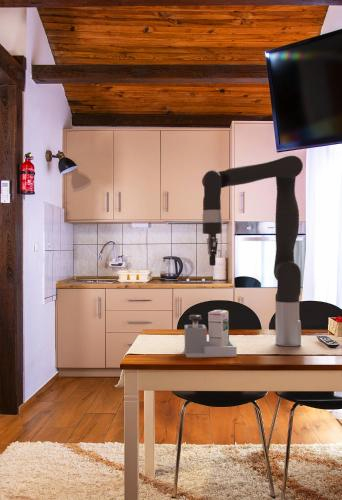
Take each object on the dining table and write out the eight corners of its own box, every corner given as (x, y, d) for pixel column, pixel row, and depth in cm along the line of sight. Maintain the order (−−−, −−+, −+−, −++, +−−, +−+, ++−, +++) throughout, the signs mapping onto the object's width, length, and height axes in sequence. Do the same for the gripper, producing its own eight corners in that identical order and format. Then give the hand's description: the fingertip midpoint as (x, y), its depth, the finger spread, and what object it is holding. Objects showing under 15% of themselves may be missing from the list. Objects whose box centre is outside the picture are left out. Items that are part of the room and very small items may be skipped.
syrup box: (222, 352, 171) (222, 312, 171) (208, 350, 174) (208, 311, 174) (229, 349, 176) (229, 310, 176) (215, 347, 179) (214, 309, 179)
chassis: (231, 349, 181) (231, 323, 181) (236, 356, 170) (236, 328, 170) (184, 350, 180) (184, 324, 180) (186, 357, 169) (186, 329, 169)
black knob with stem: (200, 337, 177) (200, 314, 177) (202, 339, 173) (201, 316, 173) (189, 337, 177) (188, 314, 177) (189, 339, 173) (189, 316, 173)
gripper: (224, 220, 182) (224, 266, 182) (219, 222, 195) (219, 264, 195) (204, 221, 181) (204, 266, 182) (200, 222, 195) (201, 264, 195)
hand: (212, 265), depth 188 cm, fingers closed
